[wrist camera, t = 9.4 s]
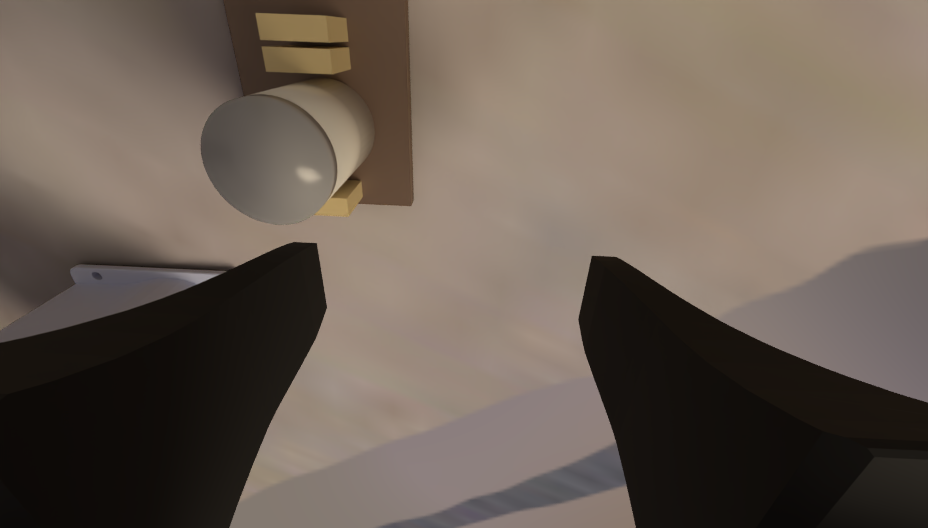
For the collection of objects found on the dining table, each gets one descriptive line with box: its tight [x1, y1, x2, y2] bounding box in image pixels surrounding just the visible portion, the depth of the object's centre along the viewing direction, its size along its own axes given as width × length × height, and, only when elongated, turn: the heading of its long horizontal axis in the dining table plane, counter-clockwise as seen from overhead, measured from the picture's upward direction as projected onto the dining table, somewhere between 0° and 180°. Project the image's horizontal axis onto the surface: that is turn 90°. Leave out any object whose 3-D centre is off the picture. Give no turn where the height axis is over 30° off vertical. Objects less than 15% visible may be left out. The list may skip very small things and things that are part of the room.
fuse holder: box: [223, 0, 414, 217], centre depth 16 cm, size 7×14×3 cm, turn 178°
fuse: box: [201, 78, 375, 225], centre depth 15 cm, size 4×4×6 cm
